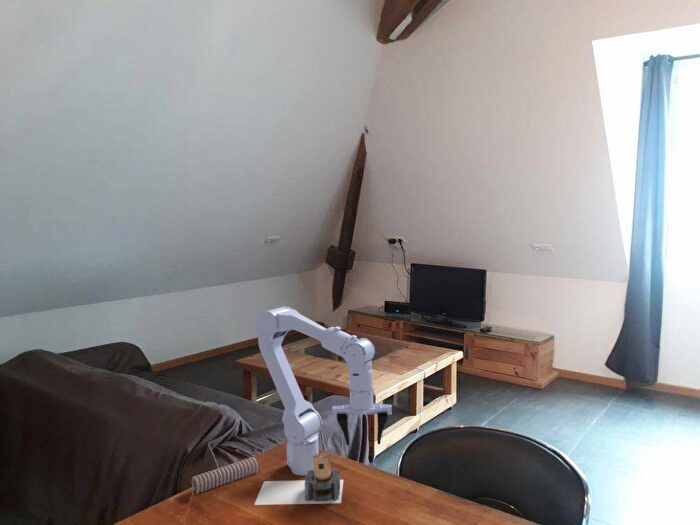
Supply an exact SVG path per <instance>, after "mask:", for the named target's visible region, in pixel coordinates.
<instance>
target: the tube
mask: <svg viewBox="0 0 700 525" xmlns="http://www.w3.org/2000/svg"><path fill="white" fill-rule="evenodd" d="M313 468H314V481H316V482H326V481H330V480H332V478H331V470H332V468H331V455H330V454H329V453H325V452H321V453H319V454H316V455H314V456H313ZM329 492H331V488H329V489H319V490H317V489H315V493H318V494H326V493H329Z"/></svg>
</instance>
